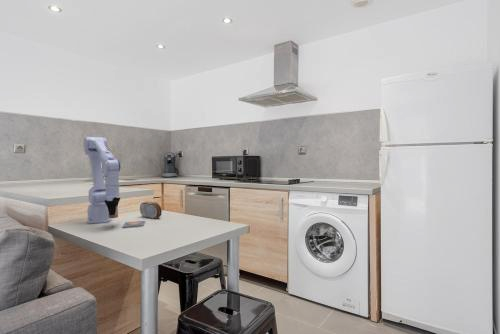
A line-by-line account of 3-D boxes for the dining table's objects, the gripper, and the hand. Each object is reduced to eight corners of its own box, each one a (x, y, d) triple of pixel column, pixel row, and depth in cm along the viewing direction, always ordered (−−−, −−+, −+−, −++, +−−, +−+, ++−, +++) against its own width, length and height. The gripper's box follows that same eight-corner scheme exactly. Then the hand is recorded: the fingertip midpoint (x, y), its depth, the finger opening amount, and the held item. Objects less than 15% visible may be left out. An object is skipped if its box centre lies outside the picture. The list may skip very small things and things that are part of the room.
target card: (122, 228, 128) (122, 226, 128) (125, 223, 138) (125, 221, 138) (143, 226, 131) (143, 224, 131) (144, 221, 141) (144, 220, 140)
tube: (107, 218, 129) (107, 207, 129) (109, 216, 133) (109, 206, 133) (117, 217, 130) (116, 207, 130) (118, 216, 134) (118, 205, 134)
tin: (162, 218, 148) (161, 202, 148) (157, 219, 145) (156, 203, 145) (143, 215, 156) (143, 200, 156) (139, 217, 153) (138, 201, 153)
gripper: (105, 184, 137) (106, 211, 137) (99, 187, 123) (100, 217, 124) (121, 183, 139) (122, 210, 139) (116, 186, 125) (117, 216, 126)
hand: (113, 214), depth 132 cm, fingers closed on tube, 4 cm apart
